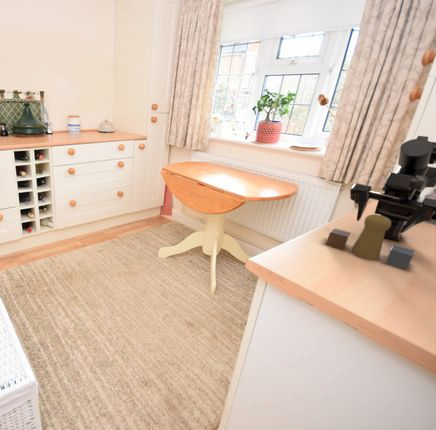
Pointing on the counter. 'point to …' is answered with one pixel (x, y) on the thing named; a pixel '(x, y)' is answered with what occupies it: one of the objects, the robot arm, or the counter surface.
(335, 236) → the walnut block
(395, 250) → the slate block
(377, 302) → the counter surface
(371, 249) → the cork
